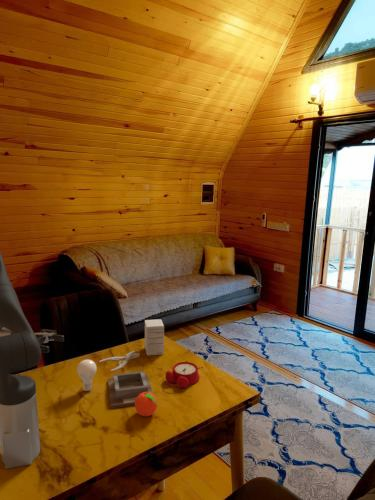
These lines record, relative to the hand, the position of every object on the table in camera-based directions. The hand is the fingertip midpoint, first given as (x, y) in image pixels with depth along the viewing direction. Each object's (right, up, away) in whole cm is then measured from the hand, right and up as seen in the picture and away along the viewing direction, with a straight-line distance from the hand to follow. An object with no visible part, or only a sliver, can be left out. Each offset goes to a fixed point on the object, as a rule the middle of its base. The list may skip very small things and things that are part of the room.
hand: (56, 344), depth 126 cm
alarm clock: (+43, -15, +8) cm, 46 cm away
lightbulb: (+11, -16, 0) cm, 19 cm away
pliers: (+19, -12, +21) cm, 30 cm away
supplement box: (+31, -10, +29) cm, 43 cm away
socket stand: (+25, -16, 0) cm, 30 cm away
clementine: (+32, -19, -12) cm, 39 cm away
